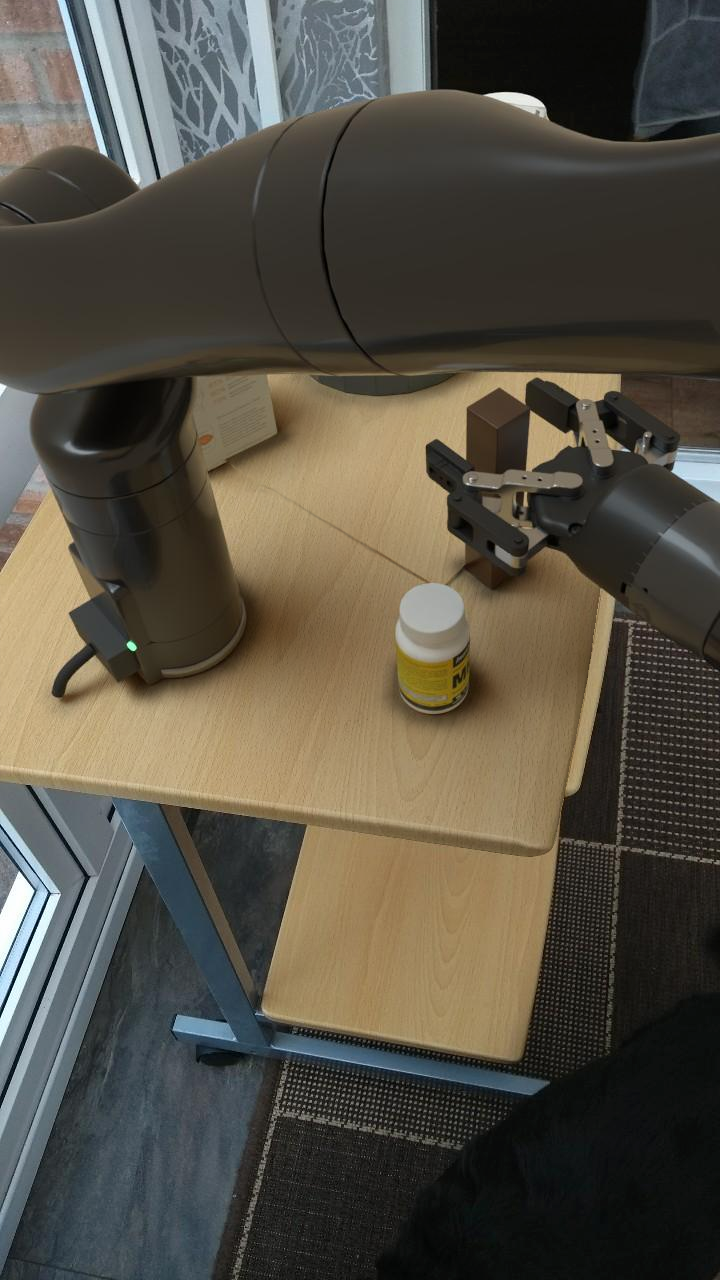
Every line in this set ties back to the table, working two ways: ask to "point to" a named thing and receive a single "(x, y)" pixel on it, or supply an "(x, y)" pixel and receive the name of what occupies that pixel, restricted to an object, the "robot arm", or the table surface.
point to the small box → (232, 415)
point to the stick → (495, 458)
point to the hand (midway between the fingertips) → (480, 420)
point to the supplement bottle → (432, 648)
